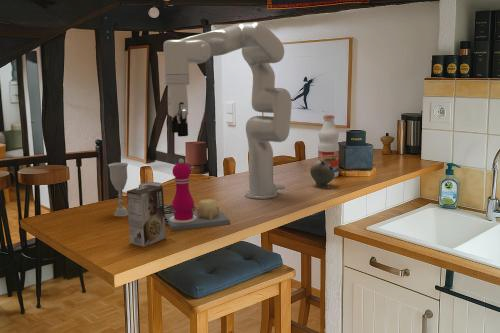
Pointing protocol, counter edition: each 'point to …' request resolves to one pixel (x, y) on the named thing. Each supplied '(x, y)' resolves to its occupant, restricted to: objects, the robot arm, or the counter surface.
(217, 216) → the plate
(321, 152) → the fruit juice
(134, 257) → the counter surface
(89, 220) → the counter surface
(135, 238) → the coffee box
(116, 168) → the chalice
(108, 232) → the counter surface
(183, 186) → the pepper mill
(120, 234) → the counter surface
